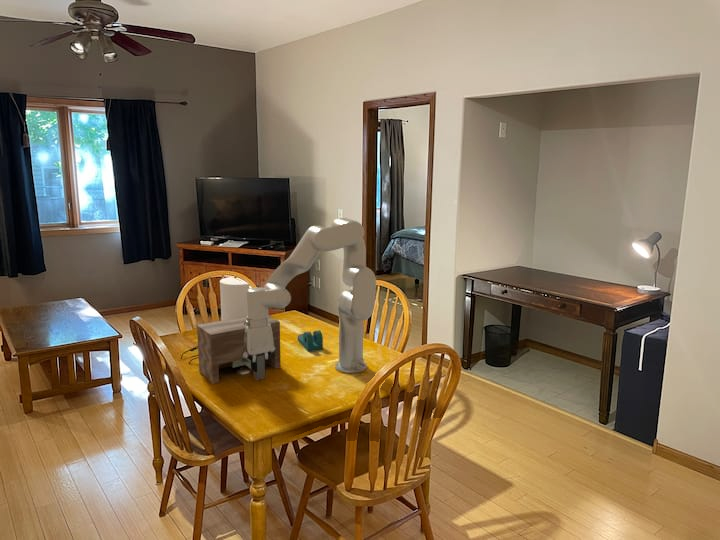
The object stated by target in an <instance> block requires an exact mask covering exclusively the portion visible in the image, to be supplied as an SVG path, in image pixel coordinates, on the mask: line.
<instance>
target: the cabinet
mask: <svg viewBox="0 0 720 540" xmlns="http://www.w3.org/2000/svg"><path fill="white" fill-rule="evenodd" d="M246 320H247V316H245V317H239V318H234V319H228V320H217V321H212V322H207V323H201V324H196V331H197V332H196V334H197V346H198V349H197V350H198V351H197V352H198V357H199V358H198V371H199V373H200V374H201V373H202V374H201V375H203V376H204V378H206V379H207V380H208V381H209V382H210V383H211V382H212V384H213V385H215V384H218V383H220V372H219V371H220V369H224V368H229V367H232V361H237V360H241V359H246V358H245V357H243V356H241V354H242V352H243V350H244V334H245V328H246V326H247V325H244V321H246ZM268 324H270V325H271V328H272V333H273V342H274V347H275V350H274V351H273V352H271V354H270V355H269V356H268V359H267V365H269V366H271V367H272V368H274V369H279V368H281V366H282V365H281V363H282V361H281V322H280V321H279V320H277V319H275V318H273V317H271V316H270V315H268ZM247 354H248V352H247ZM248 355H249V354H248ZM214 383H215V384H214Z"/></svg>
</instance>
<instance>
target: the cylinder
mask: <svg viewBox="0 0 720 540" xmlns="http://www.w3.org/2000/svg"><path fill="white" fill-rule="evenodd" d="M219 289H220V290H219V291H220V293H219V295H220V314H221V316H220V319H221V320H220V321H222V320H228V319H234V318H239V317H245V316H247V303H246V292H247V290H248V289H250V283H248V282H245V281H242V280H240V279H237V278H235V277H233V276H227V277H223V278H222V279H220V280H219Z"/></svg>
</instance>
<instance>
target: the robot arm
mask: <svg viewBox="0 0 720 540" xmlns="http://www.w3.org/2000/svg"><path fill="white" fill-rule="evenodd" d="M364 235H365V229H364V226H363V225H362V223H360V222H359V221H357V220H353V219H350V218H346V217H337V218H335V219H334V220H333V221H332V223H331V226H330V227H325V226H322V225H312V226H310V227H308V229H306V231H305V233H304V234H303V236H301V239H300V240H299V242H298V243H297V245H296V246H295V248H294V249H293V251H292V252H291V254H290V255H289V256H288V257H287V259H285V260H284V261H283V262H282V263H281V264H280V265H278V266H277V268H276V269H275V270H274V271H273V272H272V273H271V275H270V277H269V278H268V280H267V281H266V282H265V284H264V286H263V287H261V286H260V287H259V286H257V287H249V289H248V290H247V292H246V303H247V320H246V321H244V325H247V326H246V328H245V334H244V350H243V352H242V354H241V356H243V357H245V358H248V359H249V360H251V369H250V370H252V371H253V373H254V372H257V362H256V355H257V354H261V353H262V354H264V355H265V371H266V370H267V367H268V363H267V359H268V356H269V355H270V354H271V352H273V351H274V350H275V347H274V342H273V333H272V328H271V325H270V324H268V316H269V309H283V308H286V307H287V306H288V305H289V304H290V303H291V300H292V296H291V293H290V291H288V289H286V287H287V285H288V284H289V283H290V282H291V281H292V280H293V279H294V278H295V277H296V276H298V275H300V274H303V273H306V272H308V271H309V270H310V269H311V267H312V266H313V263H315V261H316V259H317V258H318V256H319V255H320V253H321V252H332V251H336V250H339V249H343V264H342V265H343V266H342V273H341V274H342V275H341V276H342V277H341V278H342V282H343V284H345V285H346V286H347V287H349V288H351V289H345V290H343V291H342V292H341V293H340V294H339V295H338V298H337V300H336V301H337V303H336V305H337V312H338V313H337V314H338V321H339V322H338V325H339V326H338V328H339V329H338V361H336V362H335V364H334V368H335V370H336V371H339V372H340V373H346V374H356V373H361V372H363V371H365V370H366V369H368V365H367V363H366V362H365V358H364V321H367V320H368V319H369V318H371V316H372V315H373V313H374V311H375V310H374V309H375V304H376V303H375V301H376V295H377V294H376V291H377V278H376V275H375V272H374V271H373V270H372V269H371V268H369V267H367V264H366V261H367V258H366V257H367V255H366V254H367V247H366V242H365V240H364ZM247 352H248V354H249V355H248V354H247Z"/></svg>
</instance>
